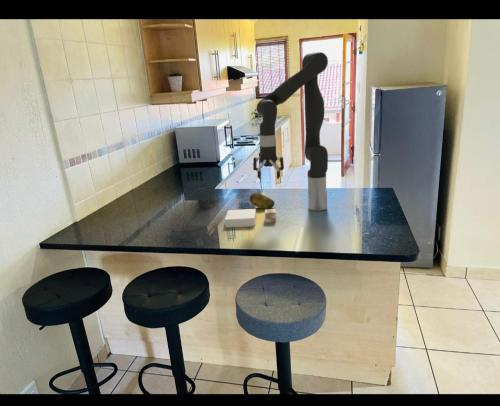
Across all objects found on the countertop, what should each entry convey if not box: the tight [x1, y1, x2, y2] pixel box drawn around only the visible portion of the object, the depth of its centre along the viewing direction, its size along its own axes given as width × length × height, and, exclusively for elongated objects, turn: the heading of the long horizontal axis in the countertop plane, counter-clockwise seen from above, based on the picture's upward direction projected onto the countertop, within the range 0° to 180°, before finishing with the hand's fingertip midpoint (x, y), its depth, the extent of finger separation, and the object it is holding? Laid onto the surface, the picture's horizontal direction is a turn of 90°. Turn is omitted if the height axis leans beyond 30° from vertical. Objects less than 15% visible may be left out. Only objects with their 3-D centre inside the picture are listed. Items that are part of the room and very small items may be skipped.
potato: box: [249, 192, 275, 210], centre depth 201 cm, size 8×13×8 cm, turn 53°
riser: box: [224, 208, 257, 228], centre depth 185 cm, size 14×13×4 cm
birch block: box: [264, 208, 277, 223], centre depth 183 cm, size 5×5×5 cm
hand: (268, 178), depth 179 cm, fingers open, 8 cm apart
